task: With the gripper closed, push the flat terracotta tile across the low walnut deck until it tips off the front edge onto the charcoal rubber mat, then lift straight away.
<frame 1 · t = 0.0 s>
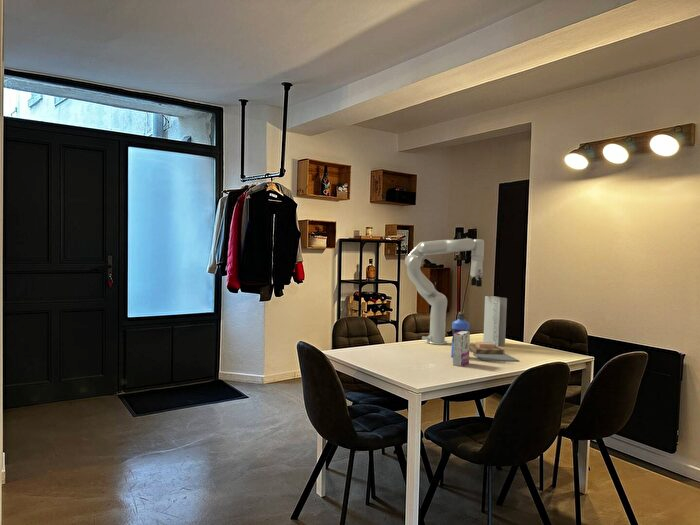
hand: (476, 285, 334), 37 cm above the table, tool pointing down, fingers open, 9 cm apart
water bottle: (459, 357, 289), on the table
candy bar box: (460, 364, 271), on the table
tall grey box: (493, 344, 336), on the table
mat: (495, 358, 290), on the table
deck: (485, 352, 305), on the table
tile: (484, 346, 307), point 3 cm above the table, touching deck
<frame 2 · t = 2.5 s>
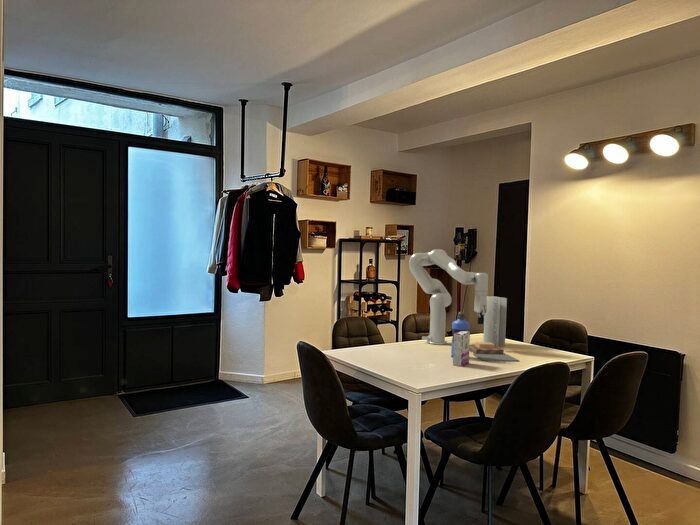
hand: (480, 323, 317), 15 cm above the table, tool pointing down, fingers closed
nothing on the table moved.
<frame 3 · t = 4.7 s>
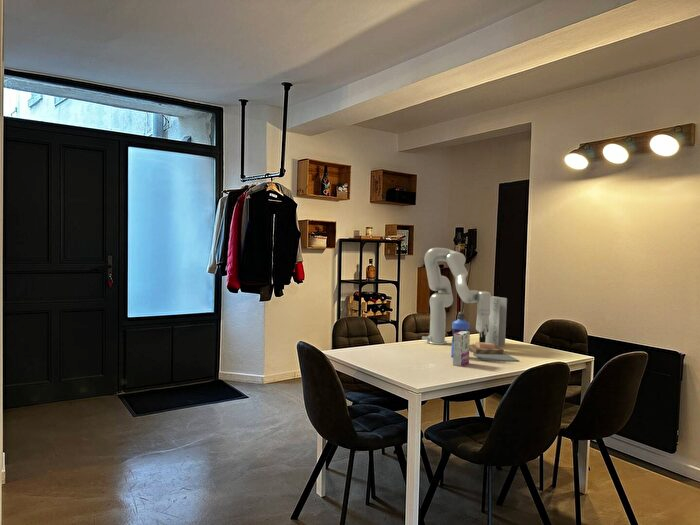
hand: (482, 343, 312), 4 cm above the table, tool pointing down, fingers closed
tile: (485, 347, 307), point 3 cm above the table, touching gripper
everything else where it was.
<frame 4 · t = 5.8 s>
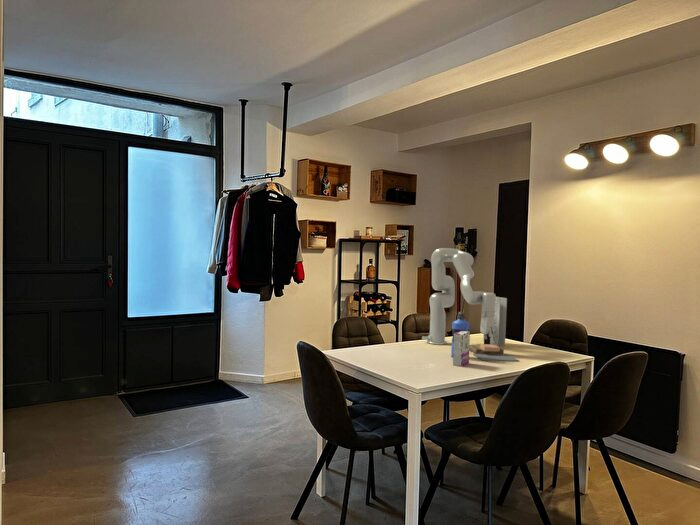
hand: (486, 345, 304), 4 cm above the table, tool pointing down, fingers closed
tile: (489, 349, 299), point 3 cm above the table, touching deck
everything else where it was.
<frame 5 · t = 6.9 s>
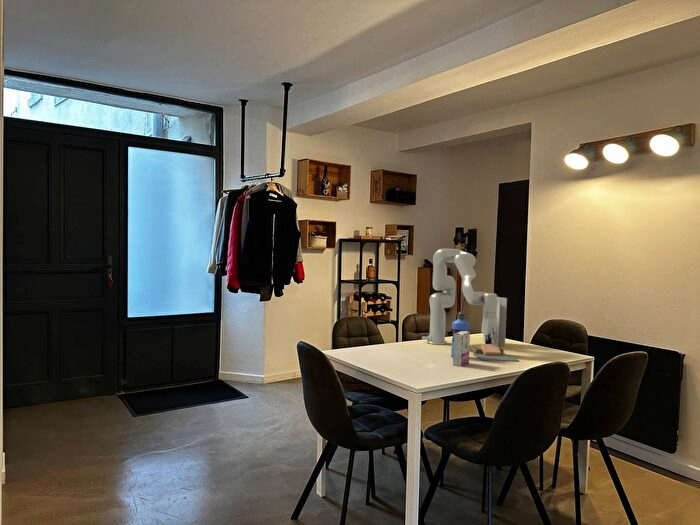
hand: (488, 346, 302), 4 cm above the table, tool pointing down, fingers closed
tile: (490, 351, 298), point 2 cm above the table, tilted 30°, touching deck, mat
everything else where it was.
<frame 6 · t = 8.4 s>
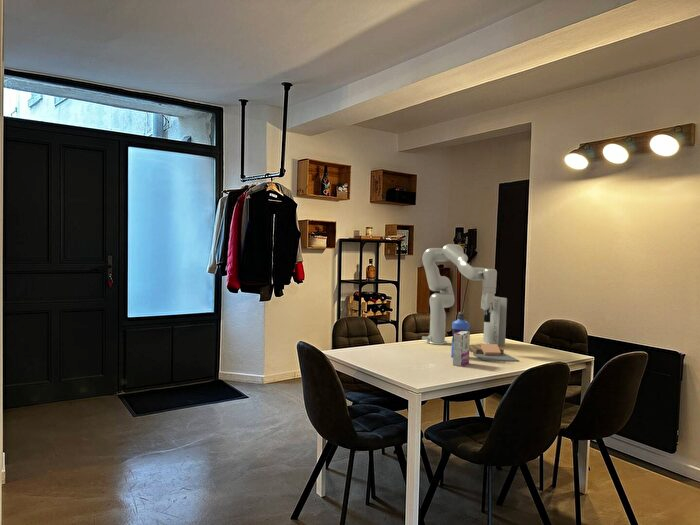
hand: (486, 321, 304), 18 cm above the table, tool pointing down, fingers closed
nothing on the table moved.
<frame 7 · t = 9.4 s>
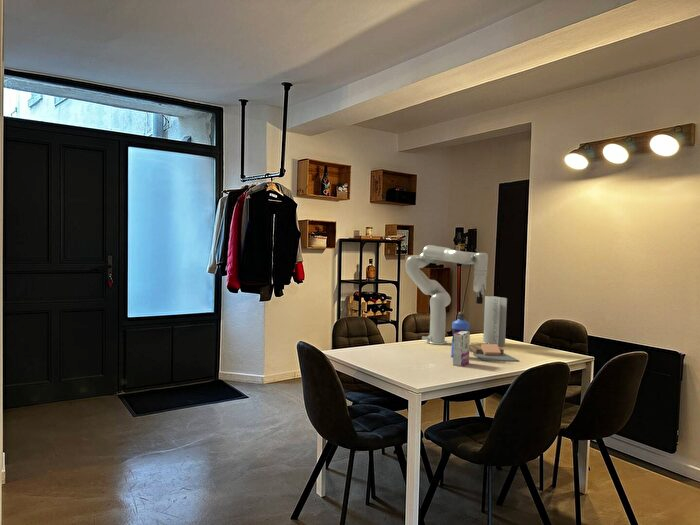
hand: (479, 303, 319), 27 cm above the table, tool pointing down, fingers closed
nothing on the table moved.
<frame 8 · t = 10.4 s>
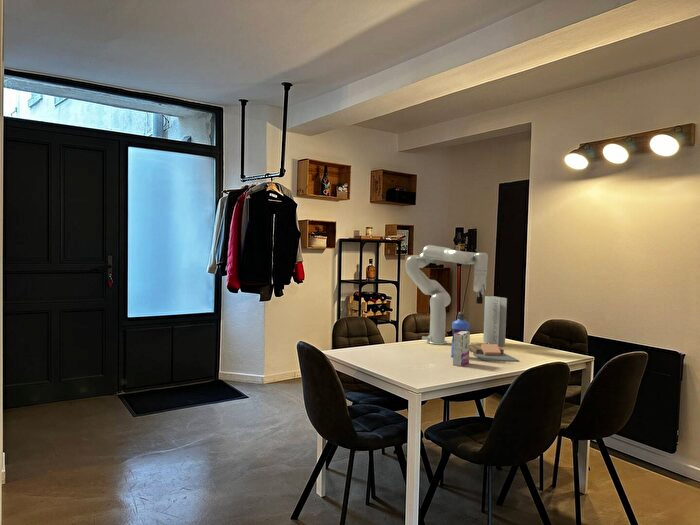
hand: (479, 303, 319), 27 cm above the table, tool pointing down, fingers closed
nothing on the table moved.
at the end: tile inside the target area (6.9 cm from its centre), point 2.4 cm above the table; tile touching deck, mat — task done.
